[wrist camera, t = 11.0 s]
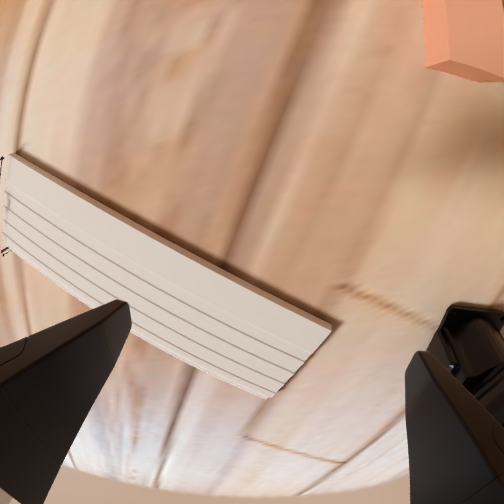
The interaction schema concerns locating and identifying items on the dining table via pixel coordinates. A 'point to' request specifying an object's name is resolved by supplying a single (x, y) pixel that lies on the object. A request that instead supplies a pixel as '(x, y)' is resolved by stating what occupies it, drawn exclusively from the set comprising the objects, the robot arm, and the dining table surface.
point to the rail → (465, 38)
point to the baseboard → (156, 284)
